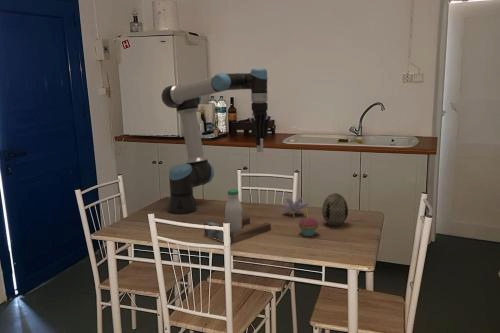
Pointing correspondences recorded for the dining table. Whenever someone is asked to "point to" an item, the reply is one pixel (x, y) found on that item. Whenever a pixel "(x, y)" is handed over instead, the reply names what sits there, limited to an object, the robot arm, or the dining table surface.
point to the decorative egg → (335, 209)
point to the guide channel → (239, 235)
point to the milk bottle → (234, 211)
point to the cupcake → (308, 225)
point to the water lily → (294, 206)
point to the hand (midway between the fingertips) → (260, 151)
